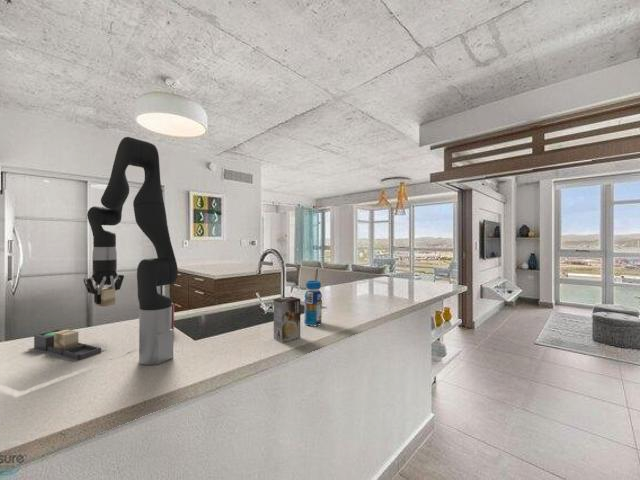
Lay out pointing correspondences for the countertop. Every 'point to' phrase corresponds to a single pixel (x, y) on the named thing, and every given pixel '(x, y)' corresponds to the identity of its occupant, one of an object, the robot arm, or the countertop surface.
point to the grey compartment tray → (71, 354)
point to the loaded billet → (65, 339)
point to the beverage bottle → (313, 303)
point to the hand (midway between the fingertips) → (104, 302)
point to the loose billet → (107, 297)
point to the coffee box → (286, 319)
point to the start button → (49, 334)
